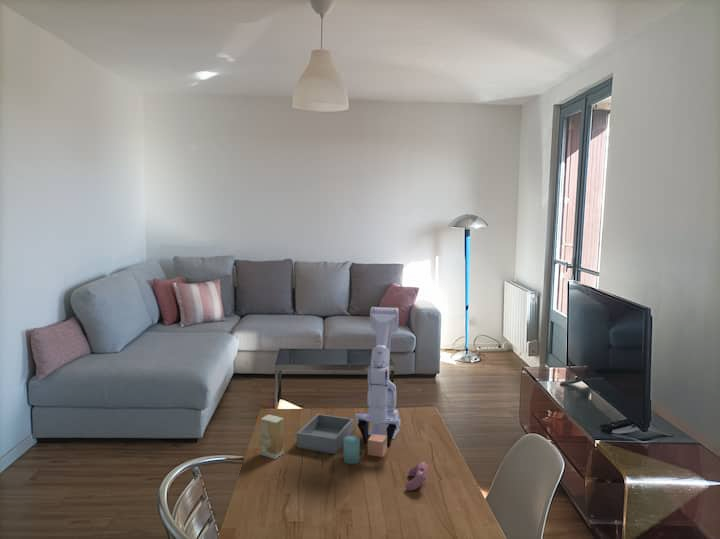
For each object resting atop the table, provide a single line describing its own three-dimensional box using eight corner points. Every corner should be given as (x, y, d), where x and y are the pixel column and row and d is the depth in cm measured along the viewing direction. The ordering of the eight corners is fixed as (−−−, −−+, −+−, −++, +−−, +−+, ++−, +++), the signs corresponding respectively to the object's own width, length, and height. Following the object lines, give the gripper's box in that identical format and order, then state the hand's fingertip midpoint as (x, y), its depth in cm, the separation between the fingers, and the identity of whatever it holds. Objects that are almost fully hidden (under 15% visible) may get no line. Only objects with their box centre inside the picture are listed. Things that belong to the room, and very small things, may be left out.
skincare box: (259, 455, 176) (259, 418, 174) (268, 449, 179) (267, 413, 178) (276, 459, 173) (276, 422, 171) (284, 454, 176) (284, 417, 175)
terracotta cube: (386, 450, 180) (387, 435, 180) (382, 457, 175) (382, 442, 175) (372, 448, 182) (372, 433, 181) (367, 454, 177) (367, 439, 176)
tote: (353, 432, 193) (353, 418, 193) (335, 454, 177) (335, 439, 176) (317, 427, 198) (317, 413, 197) (296, 447, 181) (296, 433, 181)
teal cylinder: (361, 457, 174) (361, 436, 174) (356, 465, 170) (356, 443, 169) (346, 455, 176) (346, 434, 175) (341, 462, 171) (341, 441, 170)
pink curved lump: (418, 498, 154) (429, 478, 153) (403, 489, 155) (415, 469, 154) (421, 480, 164) (432, 461, 163) (407, 472, 165) (418, 453, 163)
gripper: (352, 405, 175) (352, 446, 177) (396, 411, 170) (396, 453, 172) (359, 398, 182) (359, 437, 183) (402, 403, 177) (401, 444, 179)
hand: (377, 444), depth 178 cm, fingers open, 7 cm apart
